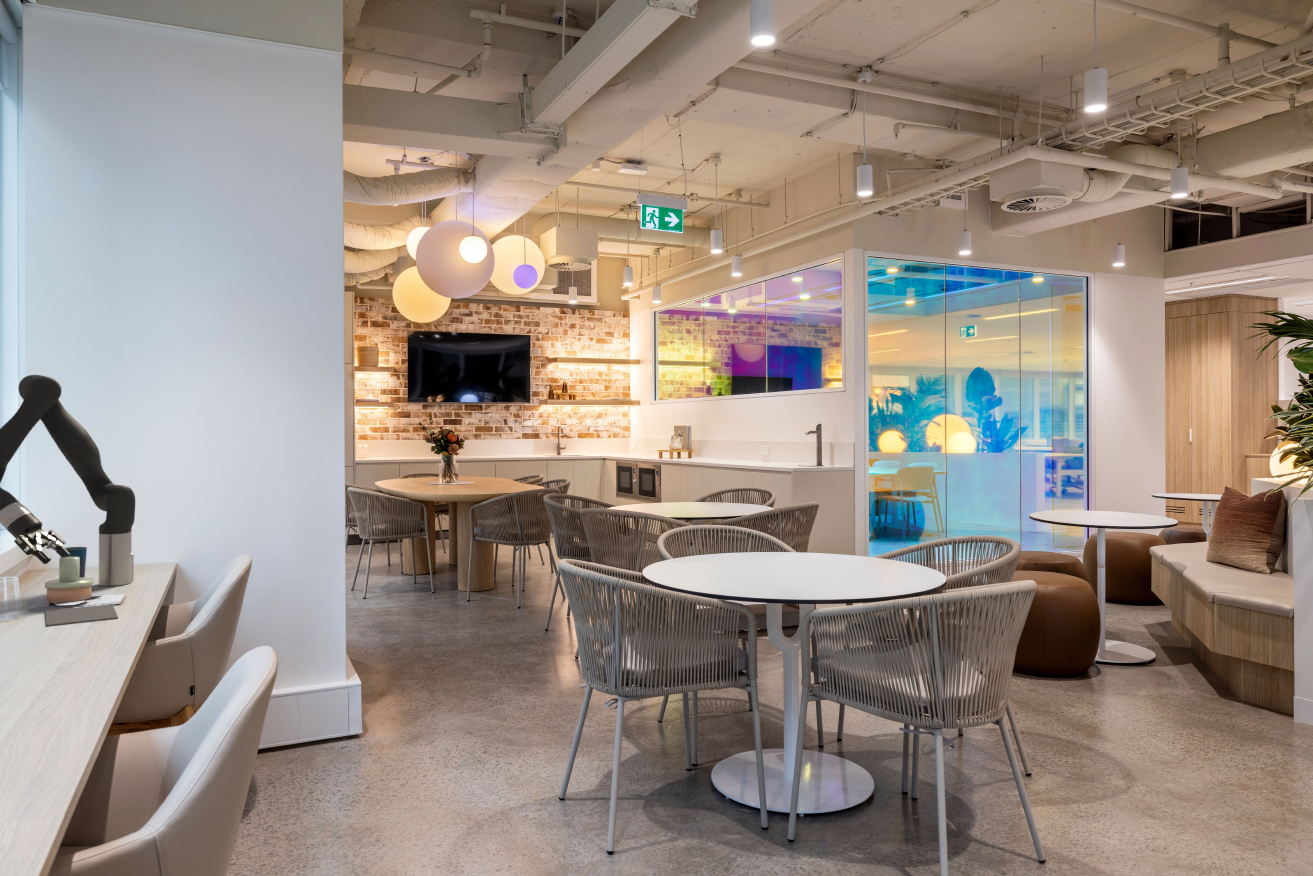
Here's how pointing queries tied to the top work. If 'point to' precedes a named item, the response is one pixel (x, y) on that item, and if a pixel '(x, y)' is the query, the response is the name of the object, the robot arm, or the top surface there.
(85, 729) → the top surface
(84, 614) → the mat
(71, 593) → the bowl
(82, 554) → the cup
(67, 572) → the lid
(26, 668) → the top surface
